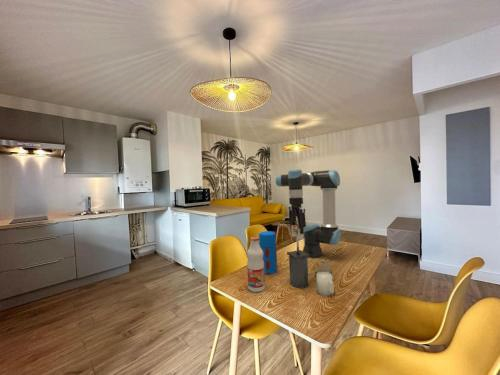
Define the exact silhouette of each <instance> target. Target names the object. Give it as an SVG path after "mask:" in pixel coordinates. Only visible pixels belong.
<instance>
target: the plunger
mask: <svg viewBox="0 0 500 375" xmlns="http://www.w3.org/2000/svg"><path fill="white" fill-rule="evenodd" d="M298 227H299V225H296V226H294V232H296V236H295V237H296V251H297V255H298V254H299V250H300V240H299V238H298Z"/></svg>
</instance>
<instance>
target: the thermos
mask: <svg viewBox="0 0 500 375" xmlns="http://www.w3.org/2000/svg"><path fill="white" fill-rule="evenodd" d="M258 237H259V241H258V242H259V245H260V248H261V249H262V250H263V261H264V273H265V275H267V276H269V275H270V276H272V275H274V274H276V273H277V272H278V260H277V259H278V258H277V257H278V256H277V254H278V253H277V234H276V232H275V231H272V230H271V231H269V230H265V231H260V232H259V233H258Z"/></svg>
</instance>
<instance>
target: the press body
mask: <svg viewBox="0 0 500 375" xmlns="http://www.w3.org/2000/svg"><path fill="white" fill-rule="evenodd" d="M286 255H288V265H289V284H290V286H292V287H294V288H298V289H304V288H307V287H309V285H310V284H309V283H310V282H309V263H308V262H309V259H308V258H309V257H310V255H309V254H307V253H305V252H303V249H302V250H301V249H299V254H298V255H297V250H293V251H287V253H286Z"/></svg>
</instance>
